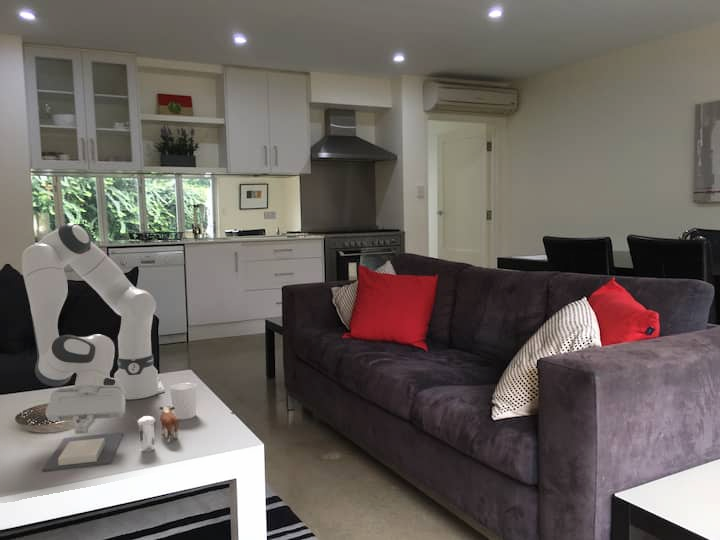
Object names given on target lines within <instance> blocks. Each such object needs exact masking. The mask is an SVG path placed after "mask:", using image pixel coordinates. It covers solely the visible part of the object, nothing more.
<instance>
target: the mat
mask: <svg viewBox="0 0 720 540" xmlns="http://www.w3.org/2000/svg"><path fill="white" fill-rule="evenodd" d="M123 437H124V432H123V431H121V432H112V433H111V432H110V433H103V434H93V435H82V436H74V437H73V436H72V437H65V438H63V439H62V441H61V442H60V444H59V445H58V446H57V448H56V449H55V451H54V452H53V453H52V455H51V456H50V458H49V460H48V461H47V462H46V464H45V465H44V466H43V468H42V472H49V471H58V470H67V469H76V468H78V469H79V468H86V467H94V466H102V465H103V466H104V465H110V464H112V462H113V459H114V457H115V455H116V452H117V450H118V448H119V446H120V443H121V441H122V438H123ZM99 438H105V445H104V447H103V449H102V451H101V453H100V455H99V457H98V459H97V461H96V462H89V463H81V464H72V465H63V466H60V465H58V458H59V457H60V455H61V453H62V452H63V450H64V449H65V447H66V446H67V444H68V443H69V442H71V441H80V440H90V439H99Z"/></svg>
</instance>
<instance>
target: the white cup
mask: <svg viewBox="0 0 720 540" xmlns="http://www.w3.org/2000/svg"><path fill="white" fill-rule="evenodd" d="M170 392H171V393H170V395H171V402H172V403H171V406H172V407H174V408H175V409H174V410H173V414H174V416H175V417H176V418H177V419H178V421H180V420H182V421H183V420H190V419H192V418H195V417H196V414H197V384H196V383H194V382H181V383H180V382H179V383H175V384H173V385H171V386H170Z"/></svg>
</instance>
